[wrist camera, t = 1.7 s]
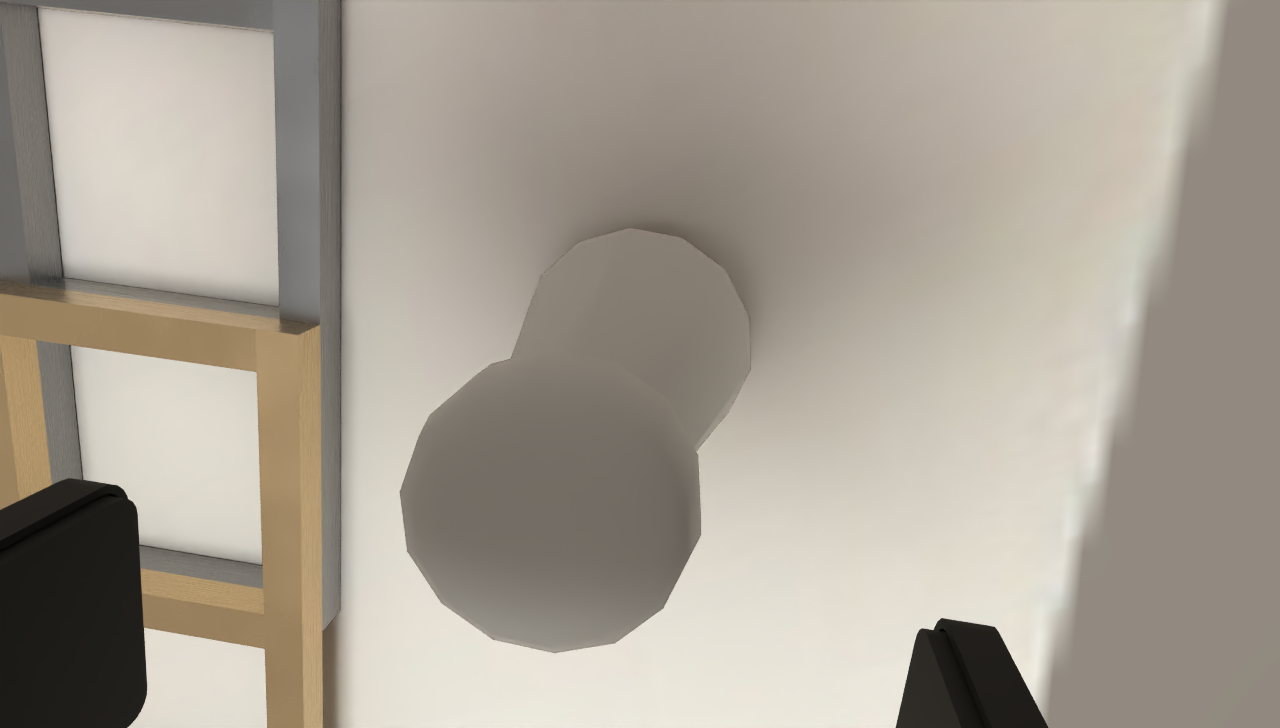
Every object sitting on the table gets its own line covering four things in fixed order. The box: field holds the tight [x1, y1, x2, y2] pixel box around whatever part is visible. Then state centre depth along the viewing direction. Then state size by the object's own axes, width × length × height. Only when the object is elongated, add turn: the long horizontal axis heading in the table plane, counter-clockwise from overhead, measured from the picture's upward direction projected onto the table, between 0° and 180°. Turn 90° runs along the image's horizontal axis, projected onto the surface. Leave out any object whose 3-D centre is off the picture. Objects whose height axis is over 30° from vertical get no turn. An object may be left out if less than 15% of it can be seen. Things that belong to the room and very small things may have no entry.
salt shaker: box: [400, 228, 751, 653], centre depth 17 cm, size 6×6×13 cm
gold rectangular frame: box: [0, 281, 323, 728], centre depth 26 cm, size 19×10×2 cm, turn 174°
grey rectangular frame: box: [0, 0, 341, 632], centre depth 24 cm, size 19×10×1 cm, turn 174°
